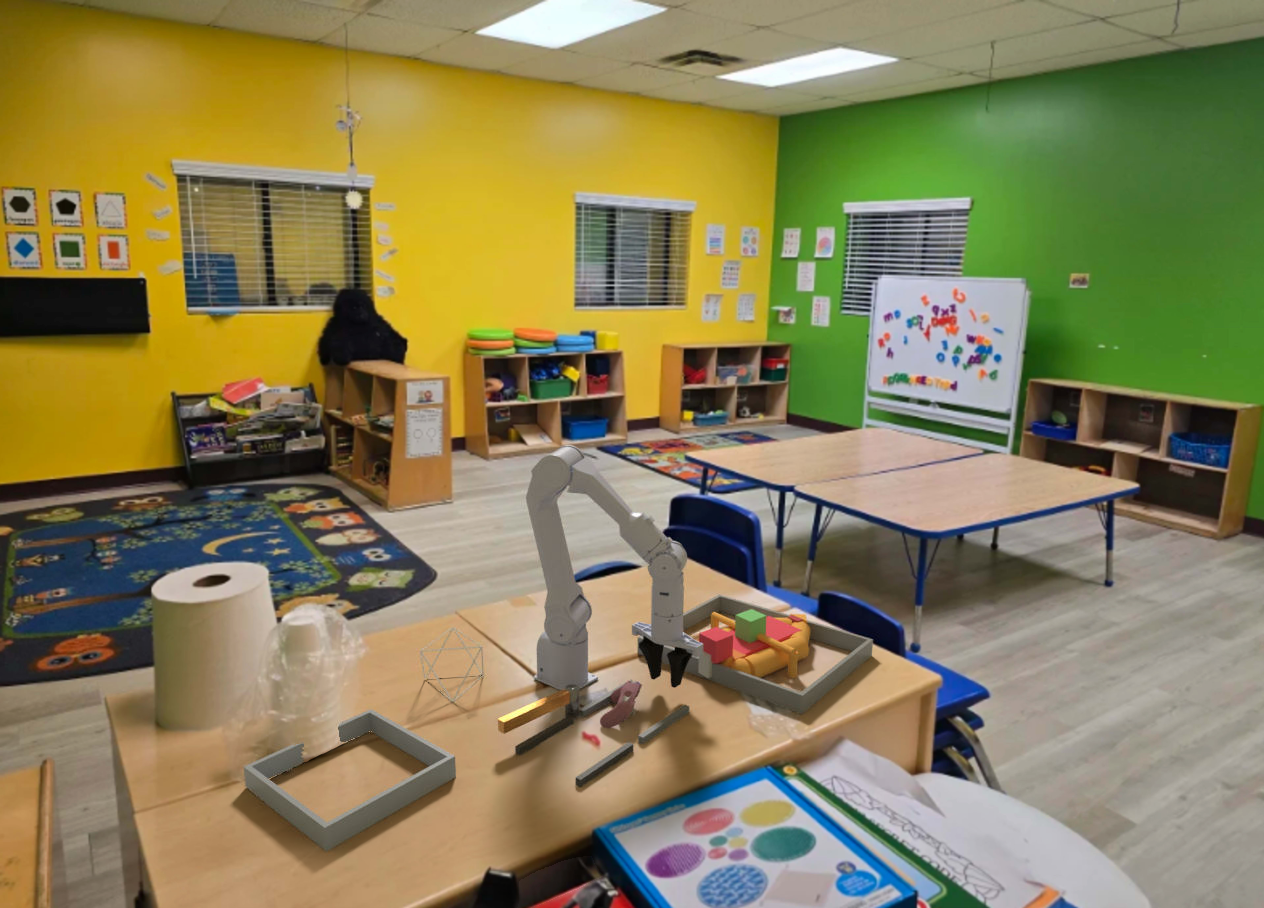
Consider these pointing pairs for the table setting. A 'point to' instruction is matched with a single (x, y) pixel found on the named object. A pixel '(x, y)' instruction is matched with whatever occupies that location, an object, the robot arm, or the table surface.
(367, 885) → the table surface
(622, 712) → the pink curved shape
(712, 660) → the raft
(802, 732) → the table surface
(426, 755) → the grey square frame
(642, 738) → the dock
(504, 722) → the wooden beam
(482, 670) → the geometric polyhedron
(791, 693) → the blocks bin frame
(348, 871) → the table surface
